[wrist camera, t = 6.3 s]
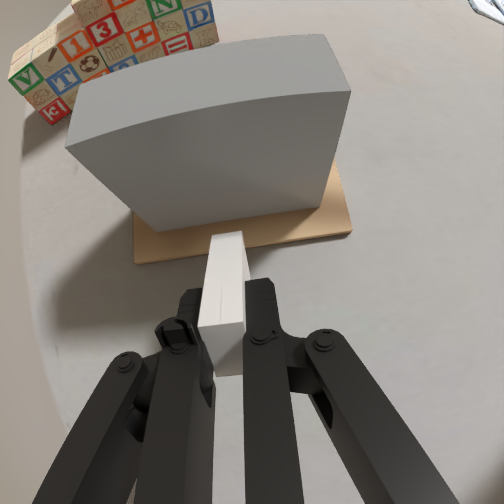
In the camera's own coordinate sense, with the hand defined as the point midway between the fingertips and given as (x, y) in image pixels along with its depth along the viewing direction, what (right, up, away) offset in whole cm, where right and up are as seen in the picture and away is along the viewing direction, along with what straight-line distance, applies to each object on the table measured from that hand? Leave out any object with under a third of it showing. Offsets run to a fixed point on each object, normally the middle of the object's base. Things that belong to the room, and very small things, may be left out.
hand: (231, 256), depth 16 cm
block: (0, +5, +7) cm, 8 cm away
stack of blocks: (-13, +22, +13) cm, 29 cm away
